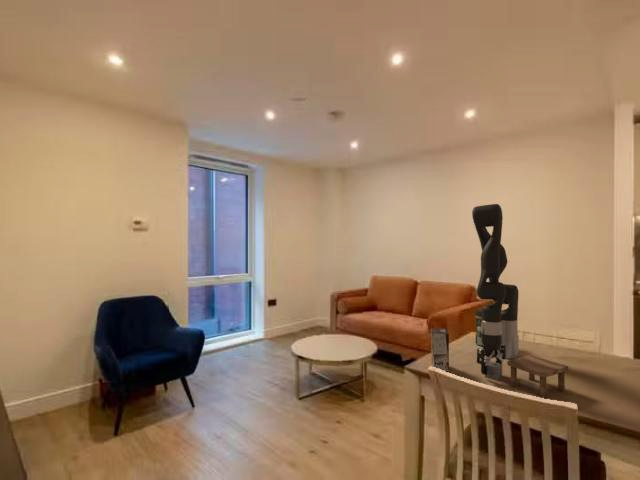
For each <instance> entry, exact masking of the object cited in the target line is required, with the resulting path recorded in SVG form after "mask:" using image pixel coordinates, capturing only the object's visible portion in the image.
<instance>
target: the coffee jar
mask: <svg viewBox="0 0 640 480" xmlns="http://www.w3.org/2000/svg"><path fill="white" fill-rule="evenodd" d="M474 312H475V313H474V314H475V315H474V318H475V321H476V327H475V329H476V330H475V344H476V345H478V346H480V347H483V343H482V342H481V323H482V308H479V309H476V310H475V311H474Z"/></svg>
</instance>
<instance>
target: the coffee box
mask: <svg viewBox="0 0 640 480" xmlns="http://www.w3.org/2000/svg"><path fill="white" fill-rule="evenodd" d="M449 335H450V333H449V332H448V330H447V329H446V328H444V327H442V328H440V327H438V328H437V327H436V328H435V327H434V328H433V327H432V328H430V338H431V339H430V342H431V348H430V349H431V351H430V352H431V366H433V367H436V368H440V369H442V370H445V371H448V372H447V373H449V372H450V339H449V337H450V336H449ZM433 367H432V368H433Z"/></svg>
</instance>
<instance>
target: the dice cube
mask: <svg viewBox="0 0 640 480" xmlns="http://www.w3.org/2000/svg"><path fill="white" fill-rule="evenodd" d="M502 377H503V363H502V364H500V363H496V361H495V362H494V361H491V360H490V361H489V362H488V364H487V375H484V378H489V379H491V380H492V379H493V380H495V381H496V380H497V381H499V380H500V379H501V378H502Z"/></svg>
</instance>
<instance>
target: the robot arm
mask: <svg viewBox="0 0 640 480" xmlns="http://www.w3.org/2000/svg"><path fill="white" fill-rule="evenodd" d="M471 213H472V215H471V216H472V220H473V223H474V228H475V231H476V234H477V236H478V239H479V243H480V247H481V254H480V276H479V280H478V284H477V286H476V287H477V288H476V295H477V297H478V298H479V299H481V300H485V301H486V300H487V301H488V300H489V301H493V303H491V304H486V305H485V304H484V305H483V306H482V307H481V309H482V323H481V342H482V343H483V346H482V348H479V347H478V348H477V349H476V363H477V364H479V365H480V373H481V374H482V375H484V376H485V375H487V364H488V362H489V361H491V359H495V363H500V364H502V365H503V361H504V360H506V359H508V360H510V359H511V360H513V359H517V358H519V355H520V352H519V351H520V347H519V346H520V344H519V342H520V341H519V337H520V336H519V335H518V333H519V332H518V331H519V329H518V327H519V325H518V313H519V289H518V286H517V285H515V284H506V283H503V282H501V281H499V279H500V277H501V275H502V274H503V272H504V271H505V269H506V268H507V265H508V256H507V253H506V249H505V247H504V245H503V244H502V243H501V242H502V231H503V230H502V229H503V219H504V218H503V210H502V206H501V205H500V204H498V203H492V204H484V205H477V206H474V207H473V209H472V212H471ZM490 227H493V228H492V233H490V232H489V231H488V229H487V228H490ZM487 280H488V281H487ZM503 305H508V307H507V308H506V309H503Z"/></svg>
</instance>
